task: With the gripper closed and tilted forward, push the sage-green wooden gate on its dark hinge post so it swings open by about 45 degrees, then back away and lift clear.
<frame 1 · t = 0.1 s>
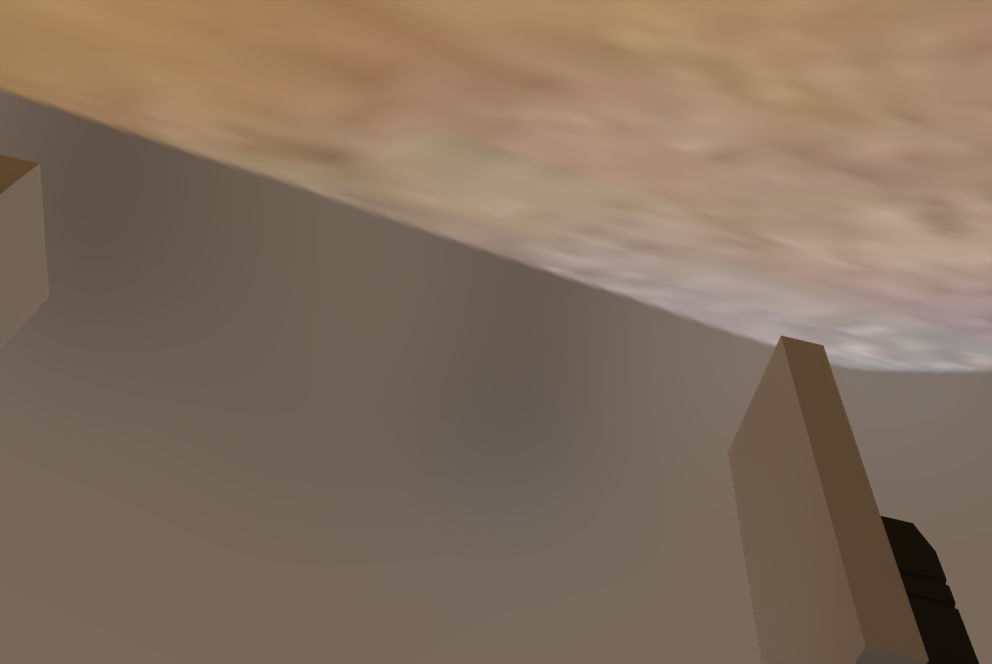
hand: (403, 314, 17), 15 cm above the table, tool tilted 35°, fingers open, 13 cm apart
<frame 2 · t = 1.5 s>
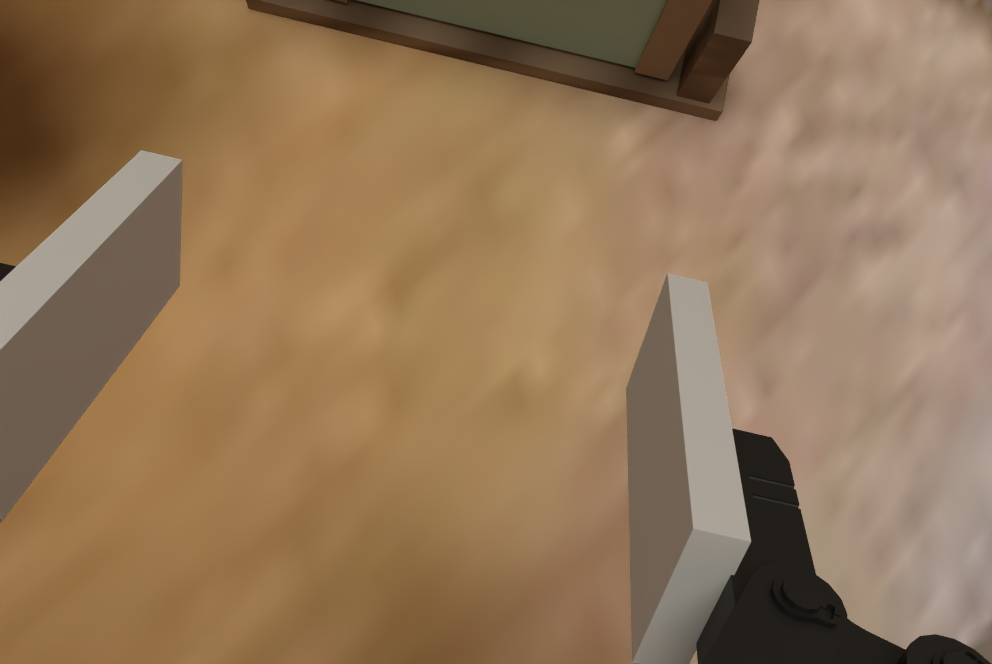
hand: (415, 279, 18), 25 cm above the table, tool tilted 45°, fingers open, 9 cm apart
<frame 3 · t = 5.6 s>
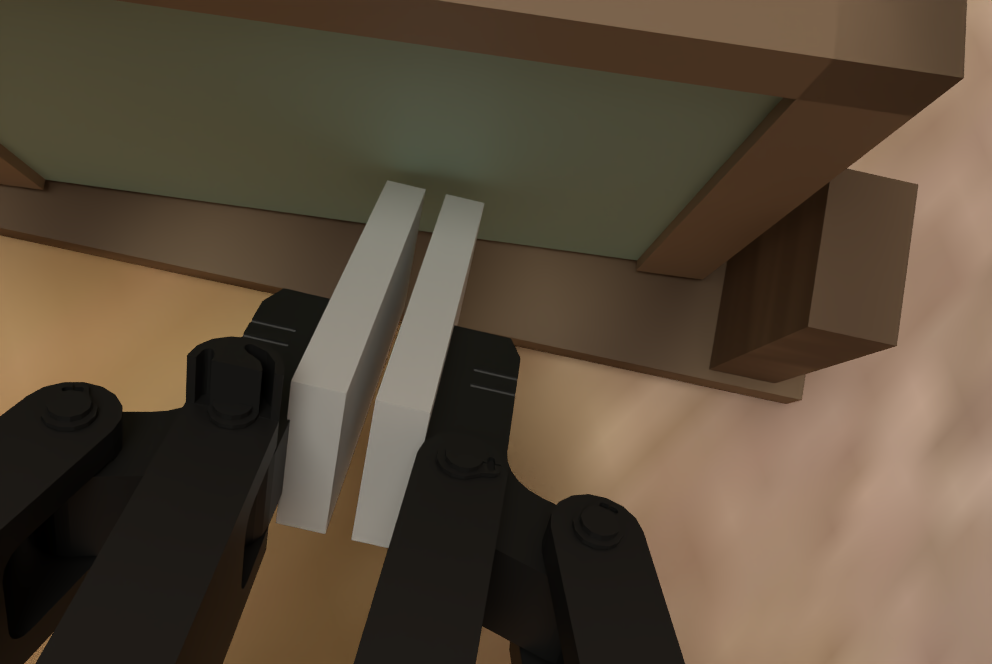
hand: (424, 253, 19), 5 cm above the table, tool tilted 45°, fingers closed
gate: (323, 91, 17), point 7 cm above the table, hinge at 4.7°, touching gripper
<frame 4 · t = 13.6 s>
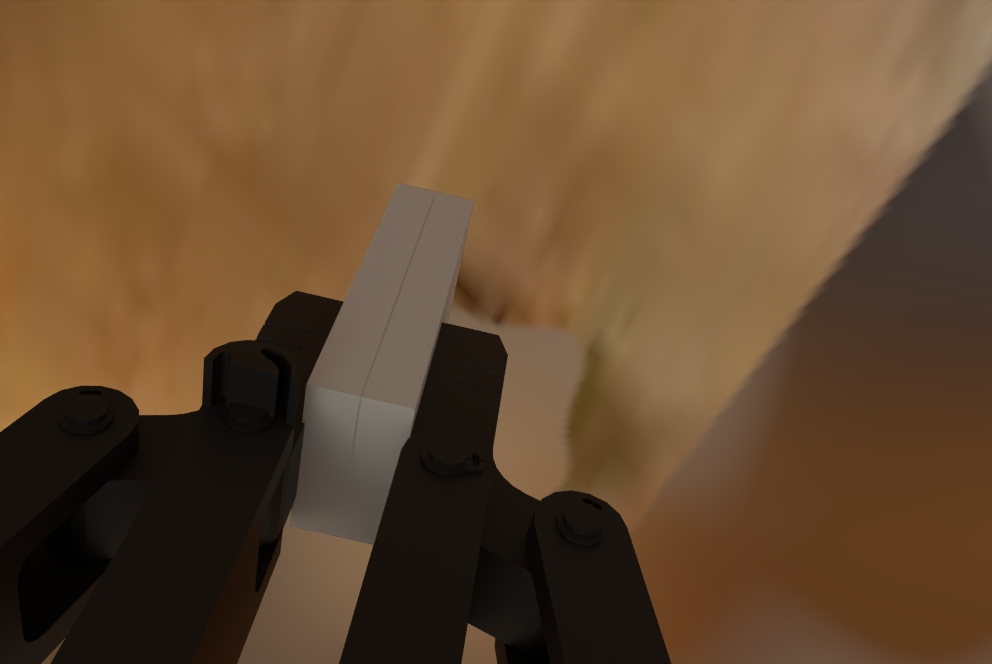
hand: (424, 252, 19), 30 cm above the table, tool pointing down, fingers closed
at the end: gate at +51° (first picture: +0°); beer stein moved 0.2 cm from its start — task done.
